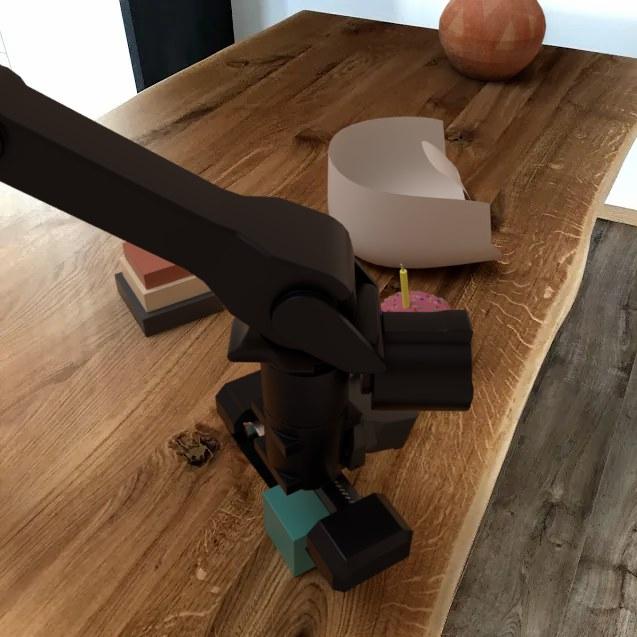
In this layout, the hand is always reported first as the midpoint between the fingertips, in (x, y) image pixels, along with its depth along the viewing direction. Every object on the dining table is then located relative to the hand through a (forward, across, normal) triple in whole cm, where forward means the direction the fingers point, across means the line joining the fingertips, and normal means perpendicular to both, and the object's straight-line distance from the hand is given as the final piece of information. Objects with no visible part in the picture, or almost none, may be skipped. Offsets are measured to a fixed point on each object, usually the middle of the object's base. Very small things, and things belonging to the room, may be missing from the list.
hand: (305, 530), depth 58 cm
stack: (+1, +34, -2) cm, 34 cm away
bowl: (+1, +31, -32) cm, 45 cm away
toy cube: (+1, 0, 0) cm, 1 cm away
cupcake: (+1, +13, -20) cm, 24 cm away
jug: (+1, +68, -77) cm, 103 cm away
